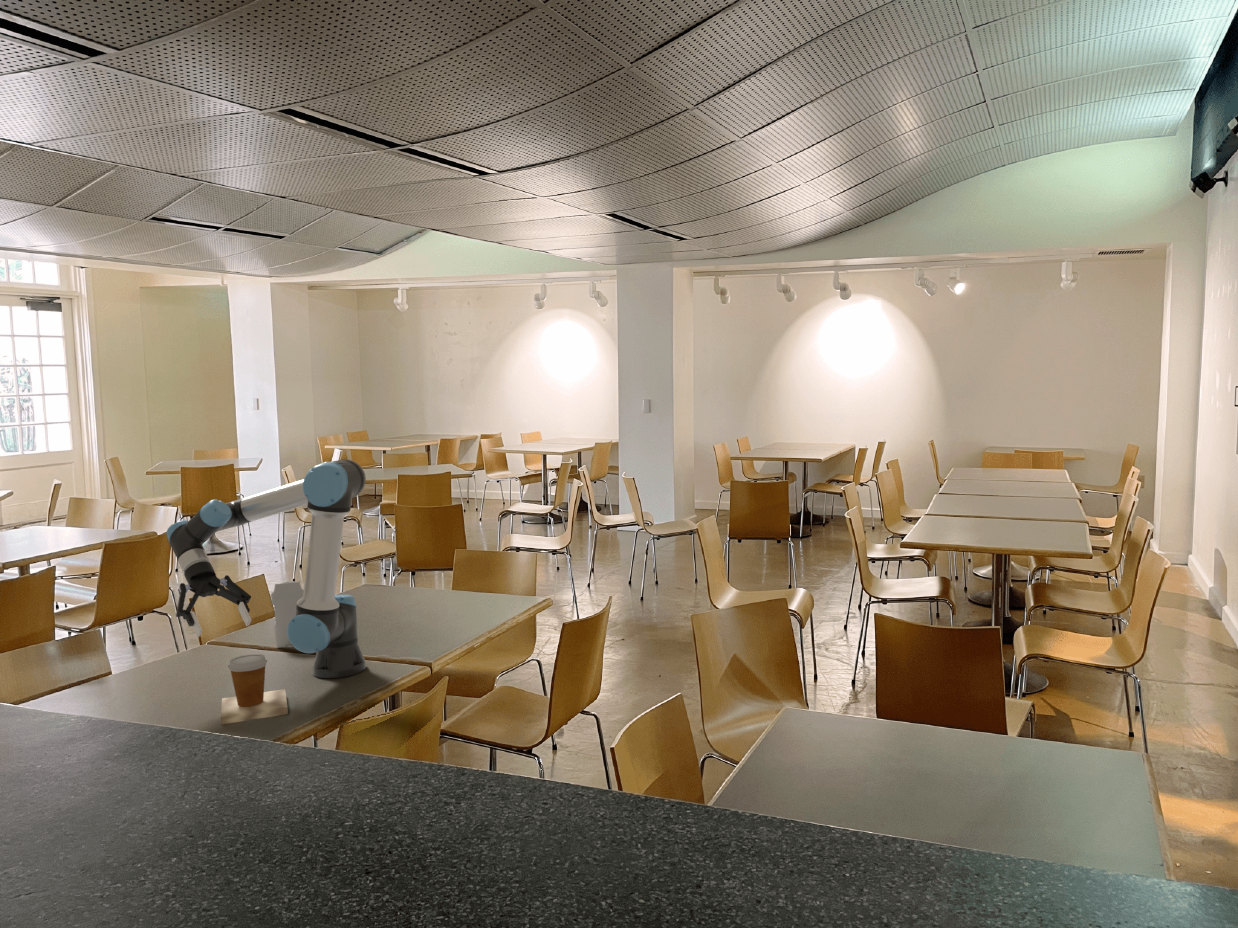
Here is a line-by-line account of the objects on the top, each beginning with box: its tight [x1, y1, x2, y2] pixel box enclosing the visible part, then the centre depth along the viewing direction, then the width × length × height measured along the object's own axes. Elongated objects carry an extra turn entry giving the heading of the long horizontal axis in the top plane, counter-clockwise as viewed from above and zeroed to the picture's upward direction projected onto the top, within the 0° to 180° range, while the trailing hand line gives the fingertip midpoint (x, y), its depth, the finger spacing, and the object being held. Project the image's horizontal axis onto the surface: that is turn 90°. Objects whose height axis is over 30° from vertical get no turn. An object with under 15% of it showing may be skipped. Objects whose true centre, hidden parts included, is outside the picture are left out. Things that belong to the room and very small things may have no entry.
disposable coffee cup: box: [227, 653, 268, 707], centre depth 242 cm, size 10×10×12 cm
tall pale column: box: [270, 580, 304, 649], centre depth 305 cm, size 11×4×22 cm, turn 108°
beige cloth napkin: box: [220, 688, 289, 726], centre depth 243 cm, size 16×16×2 cm
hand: (225, 628), depth 251 cm, fingers open, 13 cm apart
